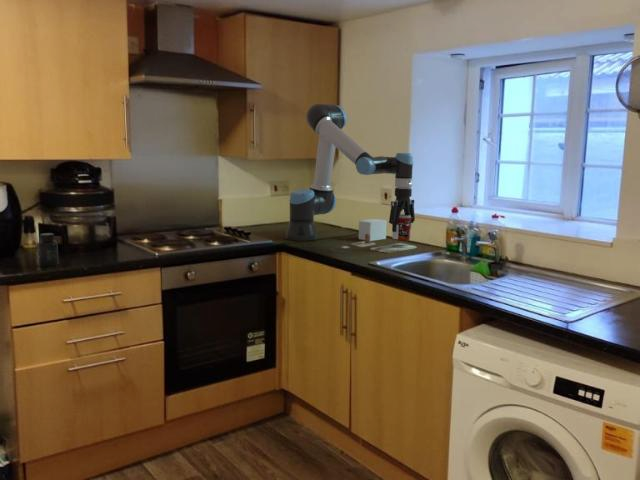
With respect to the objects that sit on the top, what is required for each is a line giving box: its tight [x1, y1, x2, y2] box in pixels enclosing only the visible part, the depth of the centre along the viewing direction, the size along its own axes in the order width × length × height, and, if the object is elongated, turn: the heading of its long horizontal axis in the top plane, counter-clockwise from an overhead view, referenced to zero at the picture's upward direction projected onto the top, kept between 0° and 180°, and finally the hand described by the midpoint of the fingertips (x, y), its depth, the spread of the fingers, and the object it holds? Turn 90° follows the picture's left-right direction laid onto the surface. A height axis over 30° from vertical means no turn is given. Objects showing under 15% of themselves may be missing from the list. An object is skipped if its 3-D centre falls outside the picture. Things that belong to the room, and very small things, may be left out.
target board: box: [370, 242, 417, 254], centre depth 275 cm, size 10×20×1 cm, turn 133°
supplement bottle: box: [37, 232, 59, 268], centre depth 229 cm, size 7×7×12 cm
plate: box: [350, 234, 376, 248], centre depth 282 cm, size 6×10×5 cm, turn 133°
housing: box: [358, 218, 388, 242], centre depth 299 cm, size 8×12×9 cm, turn 133°
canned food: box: [393, 213, 412, 242], centre depth 276 cm, size 8×8×11 cm
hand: (401, 237), depth 277 cm, fingers closed on canned food, 8 cm apart
